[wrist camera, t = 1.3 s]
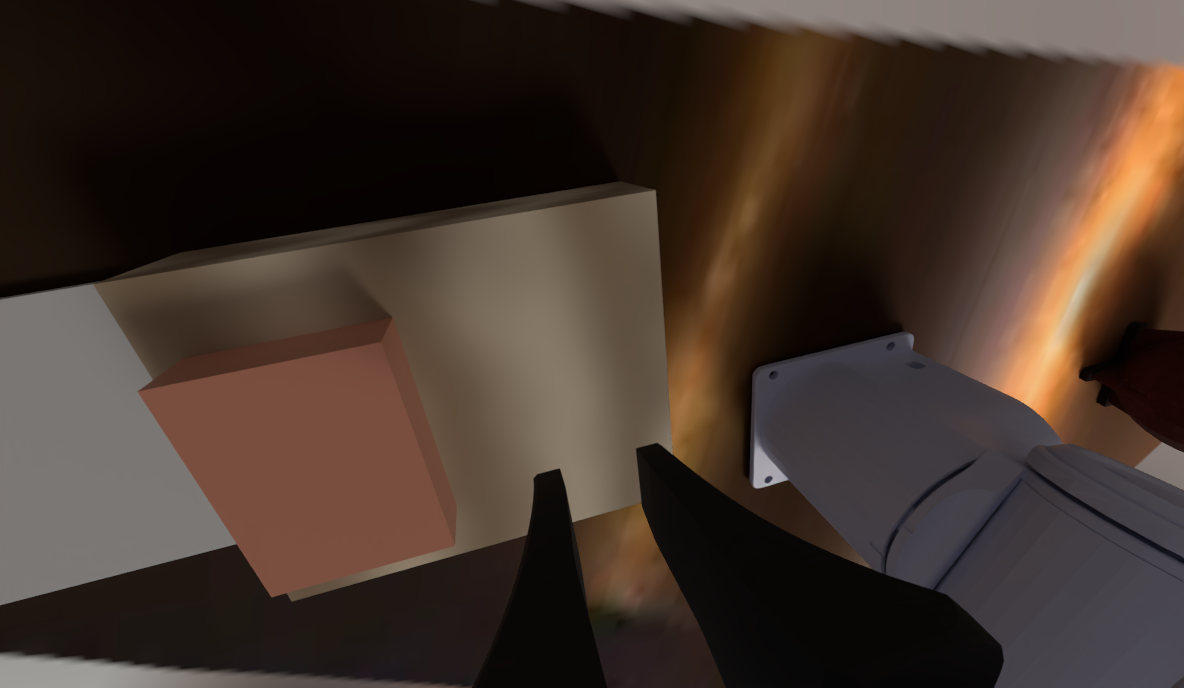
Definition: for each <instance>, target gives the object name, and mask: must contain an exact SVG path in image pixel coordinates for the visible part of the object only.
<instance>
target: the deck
mask: <svg viewBox="0 0 1184 688" xmlns="http://www.w3.org/2000/svg"><path fill="white" fill-rule="evenodd" d="M93 285H94V287H95V288H96V290H97V292H98V293H99V295H100V296H101V298H102V299H103V301H104V303H105V304H106V306H107V307H108V309H109V311H110V312H111V314H112V315H113V317H114V319H115V320H116V322H117V323H118V325H119V327H120V328H121V330H122V331H123V333H124V335H125V336H126V338H127V339H128V341H129V343H130V344H131V346H132V347H133V349H134V350H135V352H136V354H137V355H138V357H139V358H140V360H141V362H142V363H143V365H144V366H145V368H146V370H147V371H148V373H149V374H150V376H151V378H152V379H153V380H154V379H155V378H156V377H158V376H159V375H161V374H162V373H163V372H165V371H166V370H167V369H169V368H170V367H172V366H173V365H174V364H176V363H177V362H178V361H180V360H181V359H183V358H188V357H193V356H198V355H203V354H208V353H214V352H219V351H224V350H229V349H234V348H239V347H244V346H249V345H254V344H260V343H265V342H270V341H275V340H280V339H285V338H290V337H295V336H300V335H306V334H311V333H316V332H321V331H326V330H331V329H336V328H341V327H346V326H351V325H357V324H362V323H367V322H372V321H377V320H382V319H387V318H392V317H393V320H394V323H395V326H396V329H397V332H398V334H399V337H400V340H401V343H402V346H403V349H404V352H405V355H406V358H407V361H408V364H409V367H410V370H411V373H412V375H413V378H414V381H415V384H416V387H417V390H418V393H419V396H420V399H421V402H422V405H423V408H424V411H425V413H426V416H427V419H428V422H429V425H430V428H431V431H432V434H433V437H434V440H435V443H436V446H437V449H438V452H439V454H440V457H441V460H442V463H443V466H444V469H445V472H446V475H447V478H448V481H449V484H450V487H451V490H452V493H453V495H454V498H455V501H456V504H457V515H456V537H455V546H453V547H449V548H446V549H442V550H439V551H435V552H431V553H428V554H424V555H421V556H417V557H414V558H410V559H406V560H403V561H399V562H396V563H392V564H388V565H385V566H381V567H378V568H374V569H371V570H367V571H363V572H360V573H356V574H353V575H349V576H345V577H342V578H338V579H335V580H331V581H328V582H324V583H320V584H317V585H313V586H310V587H306V588H302V589H299V590H295V591H292V592H288V593H287V594H288V596H289V598H290V599H291V601H295V600H298V599H302V598H305V597H309V596H312V595H316V594H320V593H323V592H327V591H330V590H334V589H337V588H341V587H344V586H348V585H351V584H355V583H359V582H362V581H366V580H369V579H373V578H376V577H380V576H383V575H387V574H390V573H394V572H397V571H401V570H405V569H408V568H412V567H415V566H419V565H422V564H426V563H429V562H433V561H436V560H440V559H444V558H447V557H451V556H454V555H458V554H461V553H465V552H468V551H472V550H475V549H479V548H482V547H486V546H490V545H493V544H497V543H500V542H504V541H507V540H511V539H514V538H518V537H521V536H525V535H527V534H528V528H529V523H530V518H531V512H532V504H533V494H534V481H533V479H534V477H535V476H536V475H537V474H540V473H543V472H547V471H551V470H555V469H559V468H560V470H561V473H562V477H563V480H564V483H565V487H566V492H567V497H568V502H569V507H570V512H571V517H572V522H575V521H578V520H582V519H585V518H589V517H592V516H596V515H599V514H603V513H606V512H610V511H614V510H617V509H621V508H624V507H628V506H631V505H635V504H638V503H642V502H641V493H640V484H639V474H638V465H637V456H636V448H639V447H643V446H647V445H650V444H654V443H659V444H660V445H662V446H663V447H664V448H665V449H666V450H668V451H669V452H670V453H671V454H672V455H673V453H672V437H671V421H670V406H669V390H668V374H667V359H666V343H665V327H664V312H663V296H662V280H661V265H660V249H659V233H658V218H657V202H656V190H653V189H649V188H645V187H641V186H637V185H633V184H629V183H625V182H621V181H619V182H613V183H607V184H601V185H595V186H589V187H582V188H576V189H570V190H564V191H558V192H552V193H545V194H539V195H533V196H527V197H521V198H515V199H508V200H502V201H496V202H490V203H484V204H478V205H471V206H465V207H459V208H453V209H447V210H441V211H434V212H428V213H422V214H416V215H410V216H403V217H397V218H391V219H385V220H379V221H373V222H366V223H360V224H354V225H348V226H342V227H336V228H329V229H323V230H317V231H311V232H305V233H299V234H292V235H286V236H280V237H274V238H268V239H262V240H255V241H249V242H243V243H237V244H231V245H225V246H218V247H212V248H206V249H200V250H194V251H188V252H181V253H178V254H175V255H172V256H169V257H167V258H164V259H161V260H159V261H156V262H153V263H150V264H148V265H145V266H142V267H139V268H137V269H134V270H131V271H128V272H126V273H123V274H120V275H117V276H115V277H112V278H109V279H107V280H104V281H101V282H98V283H96V284H93Z"/></svg>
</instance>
